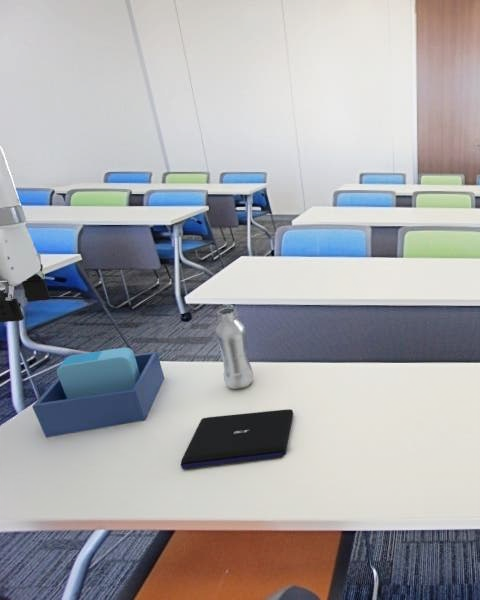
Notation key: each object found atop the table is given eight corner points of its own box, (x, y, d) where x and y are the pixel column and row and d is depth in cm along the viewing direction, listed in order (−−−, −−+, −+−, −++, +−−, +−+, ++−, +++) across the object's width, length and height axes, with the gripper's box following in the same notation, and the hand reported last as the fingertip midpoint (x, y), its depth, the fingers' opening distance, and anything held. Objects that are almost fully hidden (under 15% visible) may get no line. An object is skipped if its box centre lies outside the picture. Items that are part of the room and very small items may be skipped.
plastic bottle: (226, 395, 94) (211, 319, 87) (224, 380, 100) (209, 308, 92) (256, 387, 98) (244, 314, 90) (252, 374, 103) (240, 303, 95)
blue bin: (45, 437, 79) (31, 406, 77) (81, 389, 94) (70, 362, 91) (145, 420, 85) (135, 391, 82) (164, 378, 99) (157, 351, 96)
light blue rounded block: (145, 390, 94) (131, 345, 89) (141, 401, 90) (127, 355, 85) (79, 402, 88) (61, 356, 84) (73, 415, 85) (53, 367, 80)
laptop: (279, 469, 75) (278, 461, 74) (168, 471, 73) (165, 462, 73) (302, 414, 90) (301, 407, 89) (210, 414, 88) (208, 407, 87)
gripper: (-7, 207, 73) (24, 294, 79) (-78, 228, 58) (-33, 332, 64) (46, 207, 75) (72, 291, 82) (-9, 227, 61) (28, 327, 67)
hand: (26, 309), depth 73 cm, fingers open, 9 cm apart
